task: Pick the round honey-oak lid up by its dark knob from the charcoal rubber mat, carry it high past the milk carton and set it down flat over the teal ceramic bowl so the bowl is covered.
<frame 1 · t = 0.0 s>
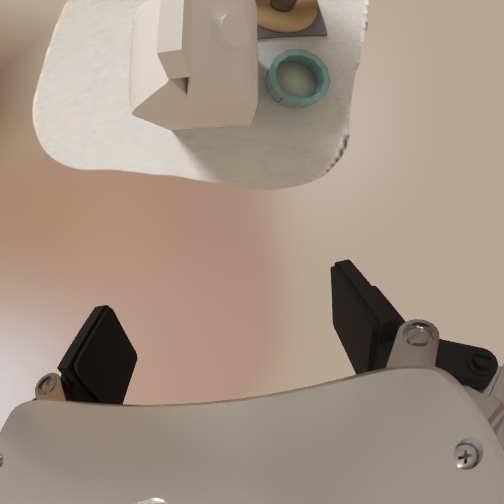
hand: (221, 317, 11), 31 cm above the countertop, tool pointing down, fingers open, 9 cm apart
milk: (210, 88, 33), on the countertop
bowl: (293, 82, 33), on the countertop
lid: (281, 5, 27), resting on mat
mat: (280, 7, 28), on the countertop
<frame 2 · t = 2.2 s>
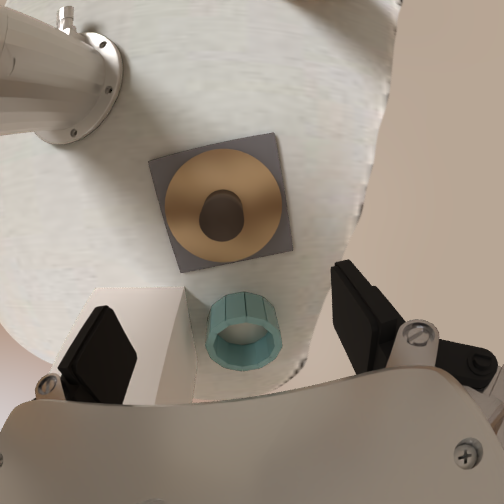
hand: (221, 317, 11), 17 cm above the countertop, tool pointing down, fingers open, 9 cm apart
milk: (147, 327, 32), on the countertop
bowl: (242, 320, 32), on the countertop
lid: (223, 206, 26), resting on mat
mat: (223, 205, 26), on the countertop
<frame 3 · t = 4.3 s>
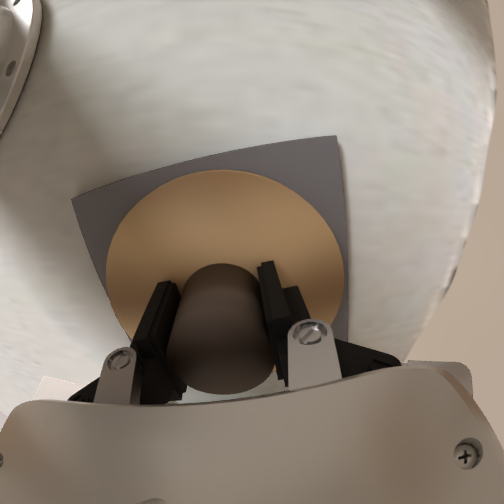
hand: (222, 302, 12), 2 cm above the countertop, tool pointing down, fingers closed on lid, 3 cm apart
milk: (122, 424, 19), on the countertop
lid: (223, 290, 13), point 1 cm above the countertop, touching gripper, mat
mat: (223, 285, 13), on the countertop
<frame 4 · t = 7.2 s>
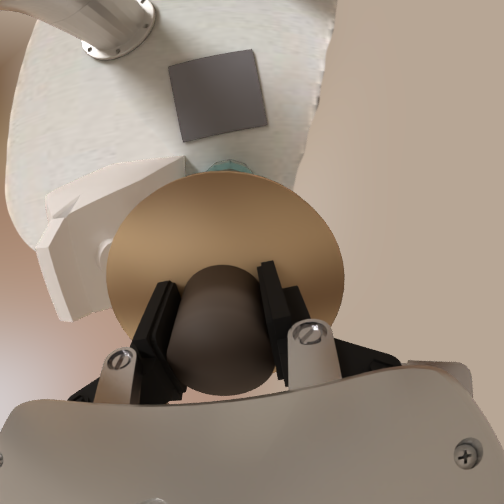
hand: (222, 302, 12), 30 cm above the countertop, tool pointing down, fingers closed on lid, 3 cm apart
milk: (150, 198, 39), on the countertop
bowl: (228, 187, 39), on the countertop
lid: (223, 292, 13), point 28 cm above the countertop, touching gripper
mat: (217, 93, 33), on the countertop
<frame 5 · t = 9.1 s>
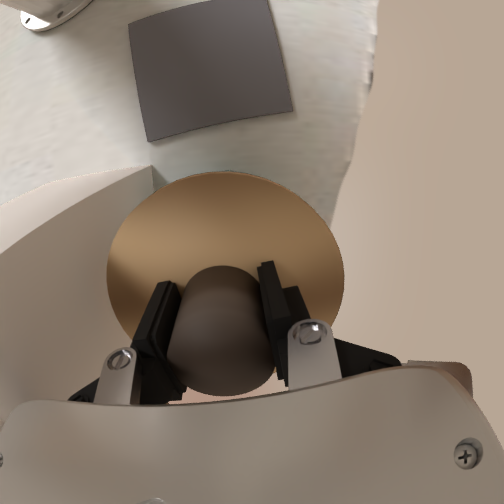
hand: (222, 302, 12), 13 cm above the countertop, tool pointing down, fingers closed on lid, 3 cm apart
milk: (104, 234, 23), on the countertop
lid: (223, 292, 13), point 12 cm above the countertop, touching gripper
mat: (205, 59, 18), on the countertop
when the fingers open (7 cm above the countertop, at t = 10.6 s): lid drops 1 cm, resting on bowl.
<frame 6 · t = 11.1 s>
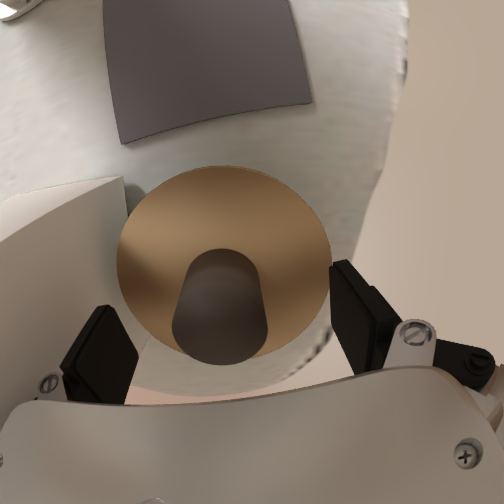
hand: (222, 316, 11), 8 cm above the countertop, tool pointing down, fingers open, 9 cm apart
milk: (74, 261, 18), on the countertop, touching gripper
lid: (222, 274, 14), point 4 cm above the countertop, touching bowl
mat: (197, 35, 12), on the countertop
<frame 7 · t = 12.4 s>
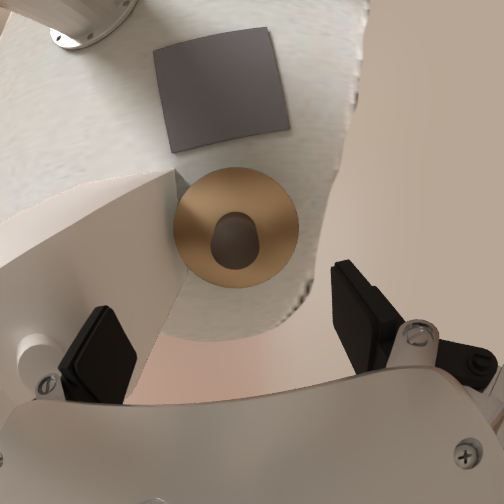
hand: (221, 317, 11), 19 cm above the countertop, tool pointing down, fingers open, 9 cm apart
milk: (132, 228, 29), on the countertop
lid: (235, 229, 24), point 4 cm above the countertop, touching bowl
mat: (219, 85, 23), on the countertop
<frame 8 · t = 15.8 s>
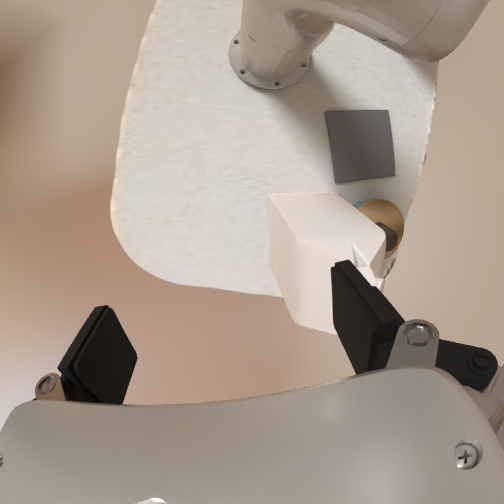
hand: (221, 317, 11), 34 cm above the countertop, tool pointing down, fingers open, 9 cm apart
milk: (301, 227, 46), on the countertop
lid: (375, 231, 42), point 4 cm above the countertop, touching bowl
mat: (362, 144, 40), on the countertop
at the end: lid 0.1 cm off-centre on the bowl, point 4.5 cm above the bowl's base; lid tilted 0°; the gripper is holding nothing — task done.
